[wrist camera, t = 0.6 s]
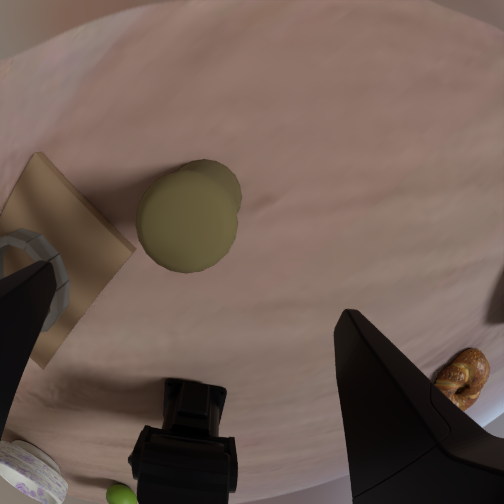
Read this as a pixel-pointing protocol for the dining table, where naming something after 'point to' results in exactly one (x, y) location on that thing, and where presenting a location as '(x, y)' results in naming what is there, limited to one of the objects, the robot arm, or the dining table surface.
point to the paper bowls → (32, 472)
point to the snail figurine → (120, 495)
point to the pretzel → (464, 378)
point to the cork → (190, 216)
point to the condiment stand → (59, 247)
